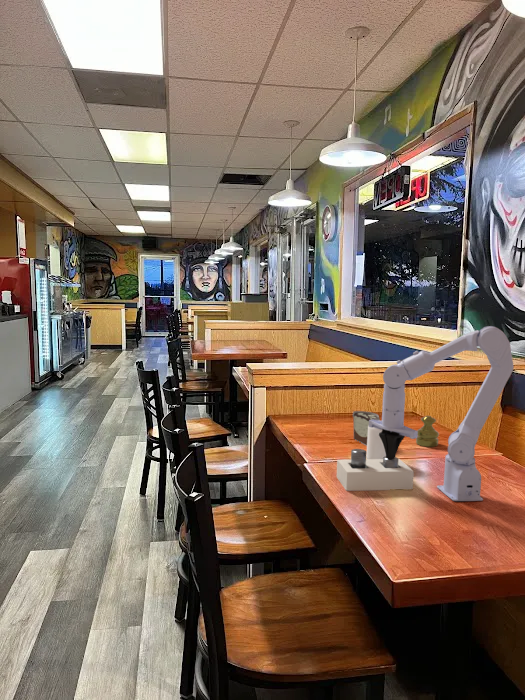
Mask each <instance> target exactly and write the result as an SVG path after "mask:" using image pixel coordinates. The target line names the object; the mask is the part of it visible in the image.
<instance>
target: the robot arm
mask: <svg viewBox="0 0 525 700" xmlns="http://www.w3.org/2000/svg"><path fill="white" fill-rule="evenodd" d="M478 347H479V348H480V350H481V352H483V353H484V355H486V357H487V359H488V361H489V364H490V368H489V371H488V372H487V374H486V376H485V378H484V380H483V382H482V384H481V386H480V387H479V389H478V392H477V394H476V395H475V397H474V400H473V401H472V403H471V405H470V407H469V409H468V411H467V413H466V415H465V417H464V419H463V420H462V422H461V423H460V424H459V426H458V427H457V429H456V430H455V431H453V432H452V433H450V435H449V437H448V439H447V443H448V446H447V454H445V459H444V460H445V461H444V472H443V475H444V476H443V484H441V485H437V486H436V488H437V489H438V490H439V491H441V492H442V493H443V494H444V495H446V496H447V497H448V498H449V499H451V501H453V502H476V501H478V502H479V501H482V502H483V500H484V498H483V497H481V487H482V475H481V472H480V471H479V469H477V467H476V458H475V457H474V456H475V454H476V453H475V451H476V449H475V448H476V445H477V443H478V439H479V437H480V434H481V431H482V430H483V428H484V426H485V423H486V422H487V420H488V418H489V416H490V414H491V413H492V411H493V408H494V406H495V405H496V403H497V401H498V400H499V397H500V395H501V394H502V392H503V391H504V388H505V386H506V384H507V382H508V380H509V379H510V377H511V375H512V373H513V371H514V361H513V355H512V348H511V342H510V340H509V338H508V337H507V335H506V333H504V331H502V330H501V329H500V328H498V327H496V326H492V325H490V326H489V325H487V326H484V327H482V328H481V329H480V330H479V329H477V330H474V331H471V332H468V333H465V334H463V335H461V336H459V337H457V338H455V339H453V340H451V341H449V342H448V343H445V344H443V345H442V346H440V347H437V348H436V349H434V350H432V351H430V352H429V351H425V350H420V351H419V350H416V351H414V352H413V353H412V355H410V356H409V357H406V358H404V359H402V360H401V359H399V360H396V364H395V363H394V364H392V365H390V366H388V367H387V368H386V369H385V370H384V372H383V374H382V380H383V382H384V384H383V395H382V410H381V411H382V413H381V414H382V415H381V420H382V421H379V420H374V419H373V420H369V427H371V428H372V427H374V428H377V429H381V430H382V432H380V433H379V436H380V438H381V440H382V442H383V445H384V449H385V453H386V458H387V459H390V460H391V459H394V458H395V457H396V456H397V453H398V450H399V447H400V445H401V443H402V441H403V440H404V438H405V437H407V438H409V439H411V440H416V438H417V436H418V431H417V430H416V429H414V428H410V427H409V426H406V425H405V424H404V423H405V422H404V421H405V404H406V403H405V402H406V392H405V391H406V390H405V389H406V384H405V383H406V382H407V381H412V380H415V379H416V378H420V377H422V376H424V375H426V374H427V373H429V372H432V371H433V370H434V368H435V366H436V364H437V363H440V362H441V361H444V360H446V359H448V358H450V357H453V356H455V355H459V353H462V352H464V351H469V352H478Z"/></svg>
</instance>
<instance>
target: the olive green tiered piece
mask: <svg viewBox="0 0 525 700" xmlns="http://www.w3.org/2000/svg"><path fill="white" fill-rule="evenodd" d="M420 421H422V423H423V425H422V427H420V428H419V429H417V430H416V431H418V435H417V438H415V443H416V444H417V445H419V446H421V447H424V446H425V448H435V446H436V447H437V446H439V436H440V433H439V431H438V430H436V429H435V428H434V426H433V425H434V423H436V422H437V419H436V418H434V417H433V416H431V415H425V416H423V417H421V418H420Z"/></svg>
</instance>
